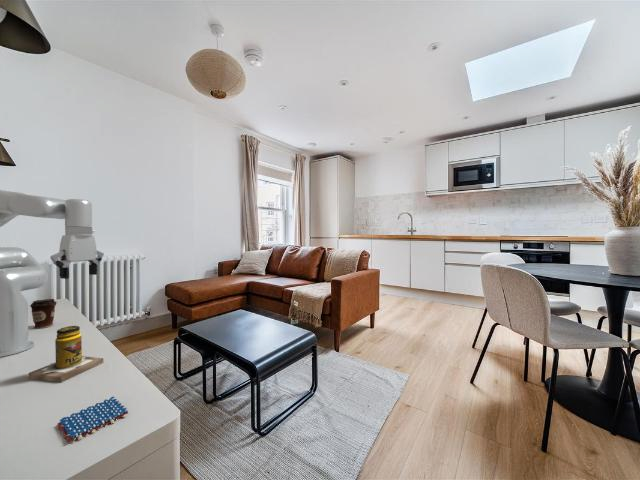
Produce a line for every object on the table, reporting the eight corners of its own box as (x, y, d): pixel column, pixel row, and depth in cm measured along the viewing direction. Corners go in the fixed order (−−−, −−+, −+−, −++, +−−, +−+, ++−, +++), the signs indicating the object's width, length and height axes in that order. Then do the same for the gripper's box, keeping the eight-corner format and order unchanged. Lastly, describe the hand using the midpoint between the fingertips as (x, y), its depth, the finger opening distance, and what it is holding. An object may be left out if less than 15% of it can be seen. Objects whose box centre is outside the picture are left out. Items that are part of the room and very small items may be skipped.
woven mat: (55, 427, 58) (55, 418, 58) (113, 402, 66) (113, 394, 66) (68, 448, 52) (67, 439, 52) (129, 418, 61) (129, 409, 60)
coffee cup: (42, 330, 119) (41, 302, 119) (24, 330, 119) (24, 302, 119) (61, 323, 128) (60, 298, 128) (45, 323, 128) (44, 298, 128)
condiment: (80, 366, 81) (79, 329, 81) (42, 374, 76) (41, 334, 76) (85, 357, 87) (85, 322, 87) (50, 364, 83) (50, 327, 82)
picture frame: (28, 377, 78) (28, 372, 78) (73, 359, 89) (73, 354, 89) (61, 382, 75) (61, 376, 75) (103, 362, 87) (103, 357, 87)
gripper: (95, 232, 106) (95, 273, 106) (42, 231, 89) (43, 279, 89) (109, 232, 105) (110, 273, 105) (59, 231, 88) (59, 280, 88)
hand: (79, 276), depth 97 cm, fingers open, 9 cm apart
